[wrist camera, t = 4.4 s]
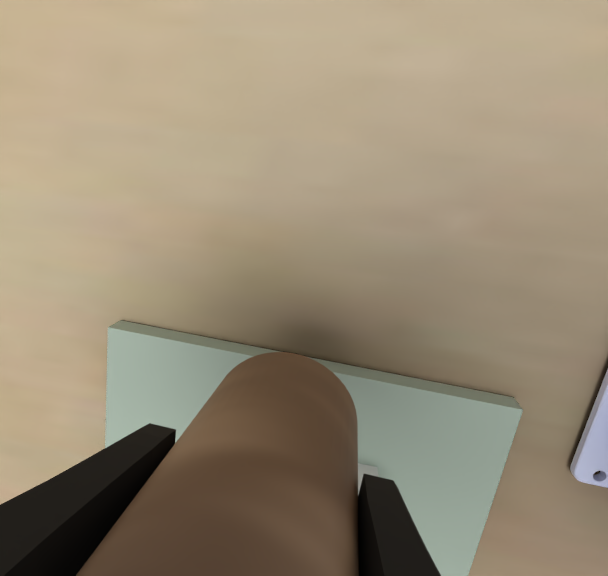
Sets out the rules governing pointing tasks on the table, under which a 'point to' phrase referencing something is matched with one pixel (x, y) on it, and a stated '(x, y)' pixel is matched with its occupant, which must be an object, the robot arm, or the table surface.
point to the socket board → (371, 426)
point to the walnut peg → (250, 483)
